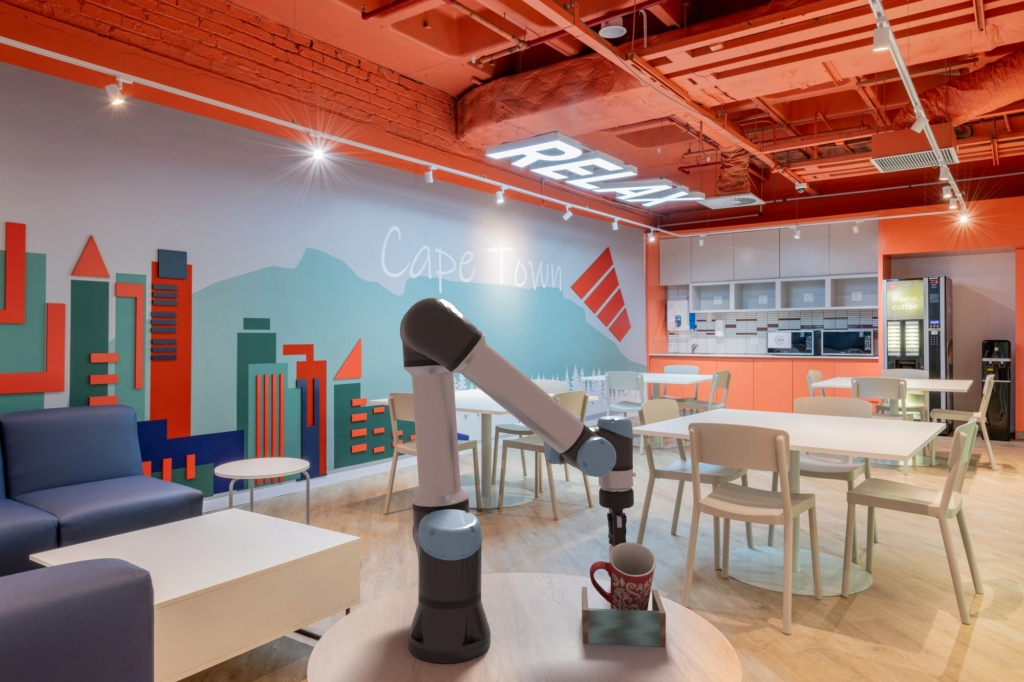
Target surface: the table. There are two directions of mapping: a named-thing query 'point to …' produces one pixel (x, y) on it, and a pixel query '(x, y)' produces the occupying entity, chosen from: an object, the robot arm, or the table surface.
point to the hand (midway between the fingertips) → (617, 585)
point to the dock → (624, 624)
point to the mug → (627, 576)
